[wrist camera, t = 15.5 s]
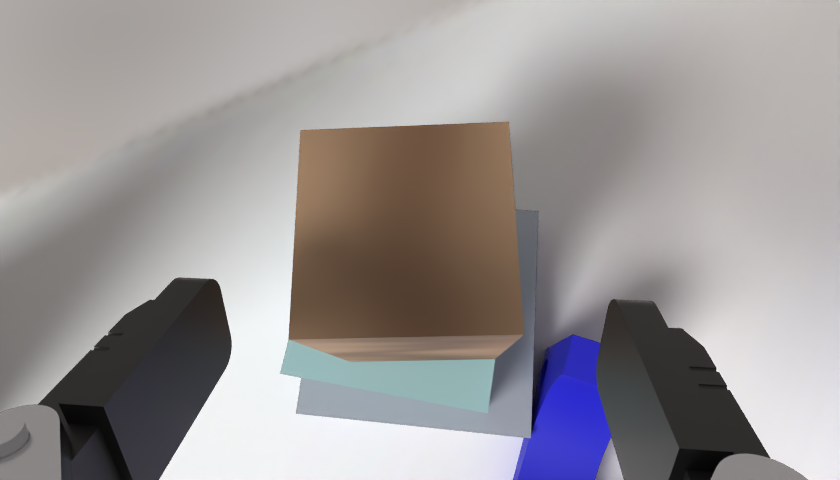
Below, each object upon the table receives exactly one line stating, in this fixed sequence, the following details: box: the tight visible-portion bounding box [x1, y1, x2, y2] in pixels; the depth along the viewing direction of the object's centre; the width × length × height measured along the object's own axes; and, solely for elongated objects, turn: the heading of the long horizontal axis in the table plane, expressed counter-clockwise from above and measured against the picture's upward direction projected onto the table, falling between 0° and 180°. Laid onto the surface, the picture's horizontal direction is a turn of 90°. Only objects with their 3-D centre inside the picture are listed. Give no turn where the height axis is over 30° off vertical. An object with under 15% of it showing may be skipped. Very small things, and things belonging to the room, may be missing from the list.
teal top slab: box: [280, 211, 516, 413], centre depth 22 cm, size 8×8×3 cm
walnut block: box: [289, 122, 524, 362], centre depth 17 cm, size 6×6×8 cm
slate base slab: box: [296, 210, 538, 438], centre depth 25 cm, size 10×10×3 cm
